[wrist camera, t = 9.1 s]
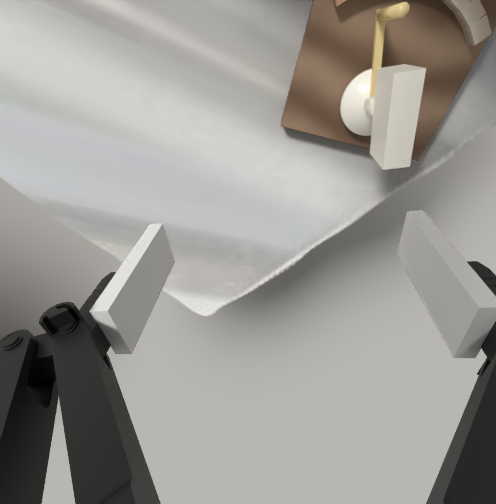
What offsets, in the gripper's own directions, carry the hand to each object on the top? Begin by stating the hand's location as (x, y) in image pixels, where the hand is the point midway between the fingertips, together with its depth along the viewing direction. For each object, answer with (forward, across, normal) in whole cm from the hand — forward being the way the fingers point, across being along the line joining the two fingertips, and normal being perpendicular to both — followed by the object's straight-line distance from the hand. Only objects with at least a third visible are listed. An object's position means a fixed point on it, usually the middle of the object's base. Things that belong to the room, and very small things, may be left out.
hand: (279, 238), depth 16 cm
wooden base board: (+28, +12, +6) cm, 31 cm away
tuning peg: (+26, +11, +4) cm, 28 cm away
